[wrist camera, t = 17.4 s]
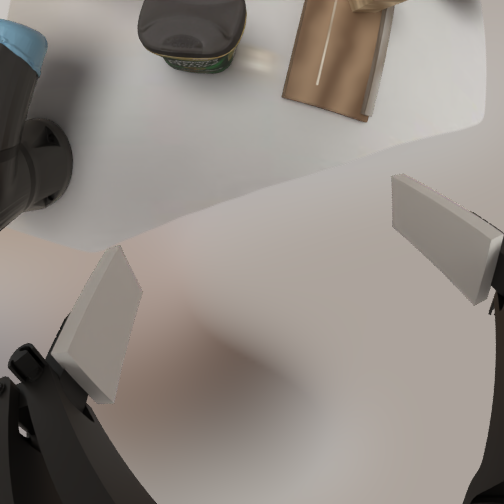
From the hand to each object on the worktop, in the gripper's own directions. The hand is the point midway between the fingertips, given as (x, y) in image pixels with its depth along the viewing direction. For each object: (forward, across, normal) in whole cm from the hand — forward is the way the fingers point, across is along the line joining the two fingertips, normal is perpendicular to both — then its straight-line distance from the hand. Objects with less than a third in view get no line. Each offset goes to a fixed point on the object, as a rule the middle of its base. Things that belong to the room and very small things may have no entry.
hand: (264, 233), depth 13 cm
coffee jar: (+31, -1, +15) cm, 34 cm away
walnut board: (+30, +20, +14) cm, 39 cm away
